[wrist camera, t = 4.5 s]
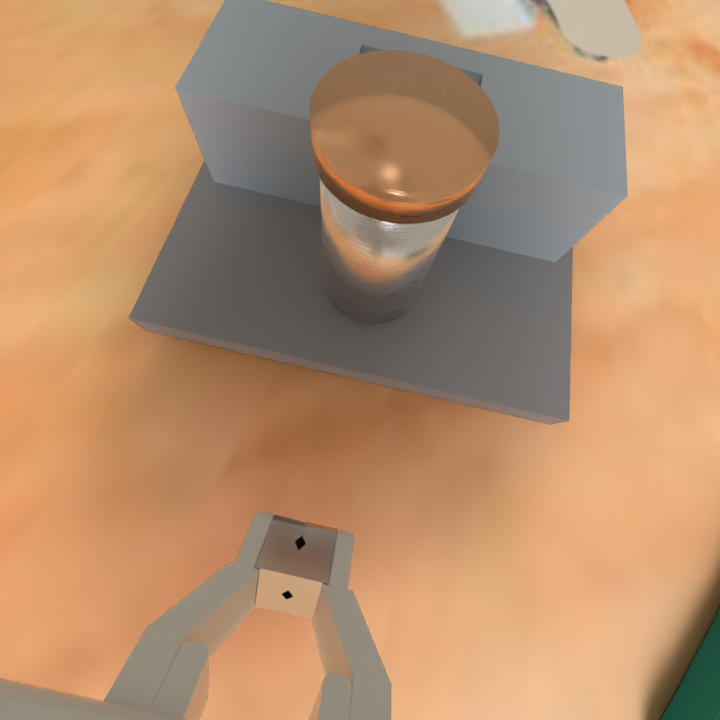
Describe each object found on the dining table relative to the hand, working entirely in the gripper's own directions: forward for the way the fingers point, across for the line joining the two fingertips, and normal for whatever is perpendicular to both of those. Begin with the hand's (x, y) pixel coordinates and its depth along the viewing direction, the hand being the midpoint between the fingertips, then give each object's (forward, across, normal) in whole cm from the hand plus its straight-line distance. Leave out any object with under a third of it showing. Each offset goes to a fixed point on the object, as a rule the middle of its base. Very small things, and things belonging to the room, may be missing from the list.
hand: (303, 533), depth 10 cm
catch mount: (+14, 0, -6) cm, 16 cm away
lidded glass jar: (+11, 0, -5) cm, 12 cm away
